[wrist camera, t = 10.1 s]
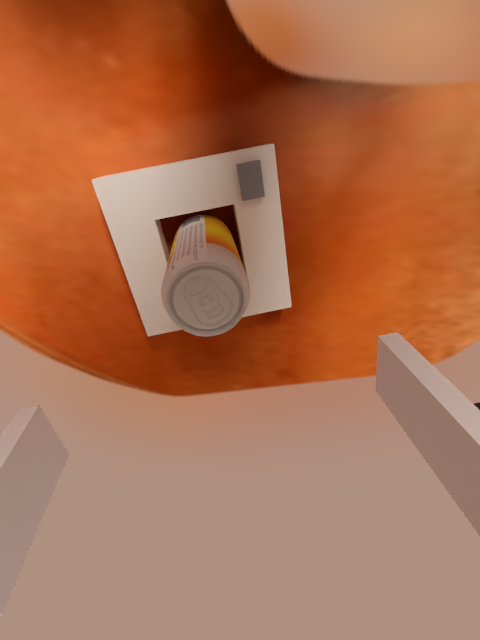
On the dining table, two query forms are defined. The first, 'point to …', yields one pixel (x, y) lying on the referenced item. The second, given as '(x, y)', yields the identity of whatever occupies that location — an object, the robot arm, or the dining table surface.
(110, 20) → the dining table surface
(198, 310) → the beer can
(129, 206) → the socket plate
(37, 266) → the dining table surface
